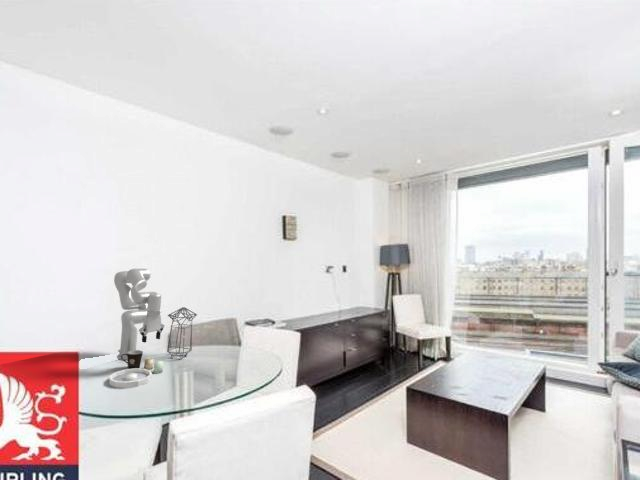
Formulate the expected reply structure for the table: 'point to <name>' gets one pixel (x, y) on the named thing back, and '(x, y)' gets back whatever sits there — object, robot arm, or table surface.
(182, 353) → the geometric lantern
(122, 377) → the groove tray
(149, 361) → the birch bead
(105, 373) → the table surface
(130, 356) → the coffee mug
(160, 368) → the sage bead
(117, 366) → the table surface
